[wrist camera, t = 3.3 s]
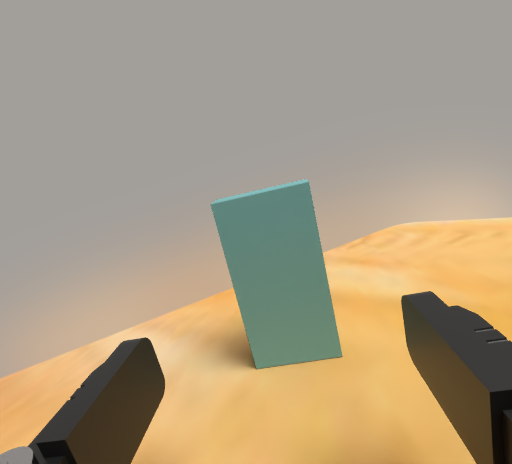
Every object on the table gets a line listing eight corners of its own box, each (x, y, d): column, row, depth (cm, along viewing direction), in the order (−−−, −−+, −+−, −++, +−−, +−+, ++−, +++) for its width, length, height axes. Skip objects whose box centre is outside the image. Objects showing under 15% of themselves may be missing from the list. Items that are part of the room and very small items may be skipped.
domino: (342, 356, 16) (308, 181, 14) (256, 369, 17) (210, 204, 15) (336, 339, 18) (305, 179, 16) (258, 351, 19) (217, 199, 16)
